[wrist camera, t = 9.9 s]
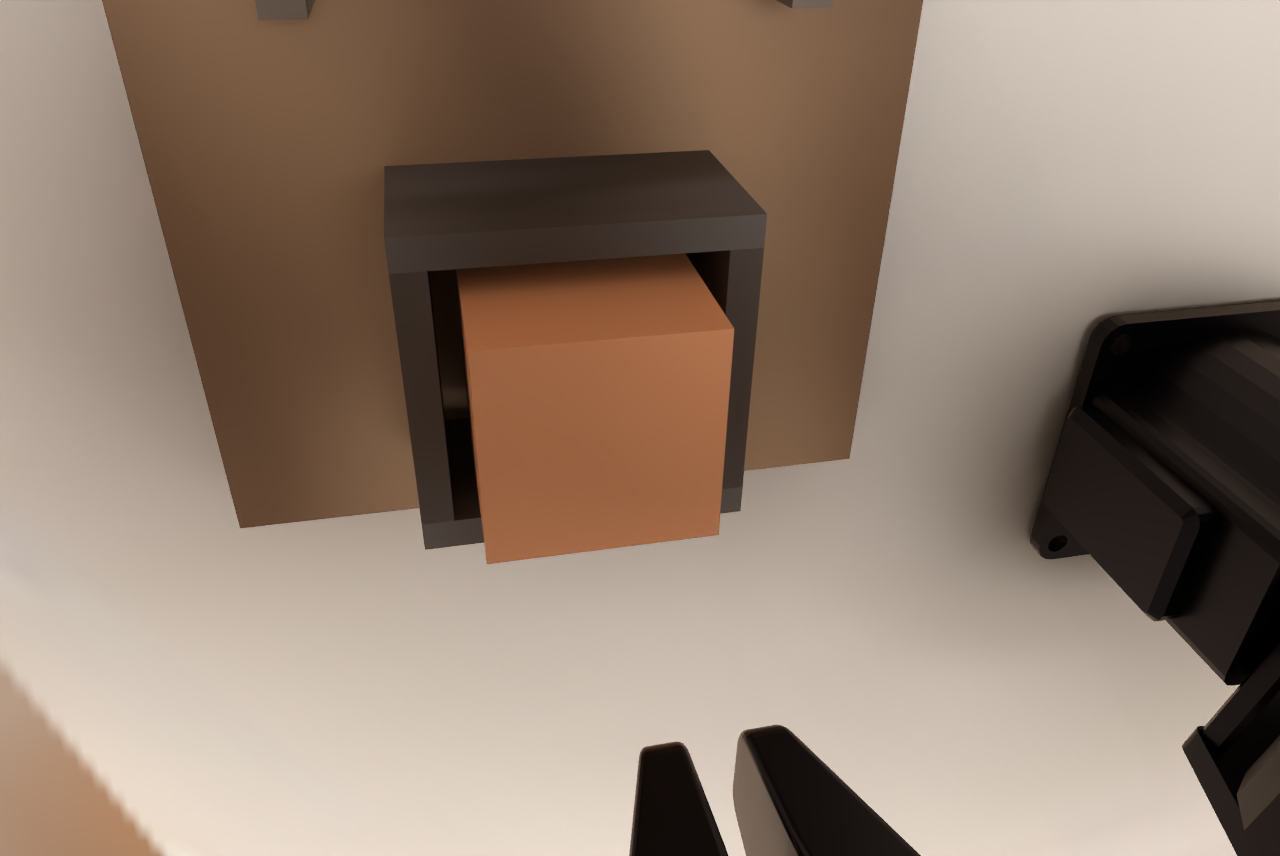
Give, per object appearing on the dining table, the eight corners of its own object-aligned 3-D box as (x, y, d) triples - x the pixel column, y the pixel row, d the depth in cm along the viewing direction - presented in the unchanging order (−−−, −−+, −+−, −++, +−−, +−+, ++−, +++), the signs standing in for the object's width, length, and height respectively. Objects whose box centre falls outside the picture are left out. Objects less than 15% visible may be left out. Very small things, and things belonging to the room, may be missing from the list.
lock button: (677, 241, 15) (734, 328, 13) (670, 426, 17) (718, 534, 14) (454, 256, 14) (468, 351, 12) (472, 447, 16) (487, 563, 14)
